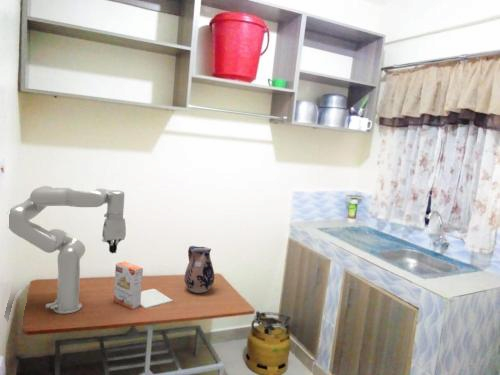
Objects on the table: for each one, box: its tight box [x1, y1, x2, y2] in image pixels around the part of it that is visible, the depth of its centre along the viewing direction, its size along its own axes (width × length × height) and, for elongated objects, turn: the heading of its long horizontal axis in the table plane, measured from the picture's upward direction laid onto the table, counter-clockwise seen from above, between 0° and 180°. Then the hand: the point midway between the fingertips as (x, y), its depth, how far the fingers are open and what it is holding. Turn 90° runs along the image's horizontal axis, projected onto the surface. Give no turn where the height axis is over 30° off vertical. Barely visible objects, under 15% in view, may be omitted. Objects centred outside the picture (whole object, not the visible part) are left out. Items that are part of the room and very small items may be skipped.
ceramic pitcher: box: [183, 245, 215, 294], centre depth 217 cm, size 18×21×25 cm
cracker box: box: [113, 261, 144, 310], centre depth 189 cm, size 14×6×21 cm, turn 60°
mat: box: [140, 288, 173, 310], centre depth 200 cm, size 16×19×1 cm
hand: (112, 252), depth 180 cm, fingers closed
